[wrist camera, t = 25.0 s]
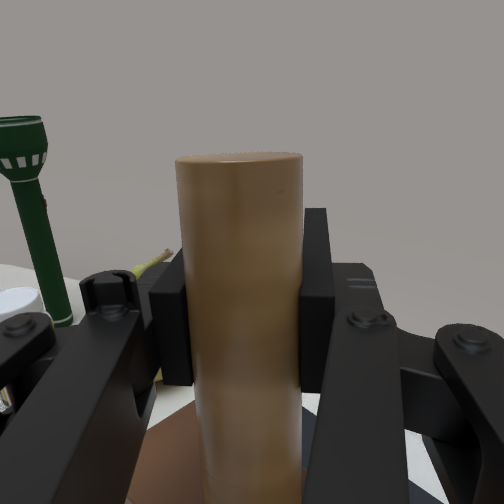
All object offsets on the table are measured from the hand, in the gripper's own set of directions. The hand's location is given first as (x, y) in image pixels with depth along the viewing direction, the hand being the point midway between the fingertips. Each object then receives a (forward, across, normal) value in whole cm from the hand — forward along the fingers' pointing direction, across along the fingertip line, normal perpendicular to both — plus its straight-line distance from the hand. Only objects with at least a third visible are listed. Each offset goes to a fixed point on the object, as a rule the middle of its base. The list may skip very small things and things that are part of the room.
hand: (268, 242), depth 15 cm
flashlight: (+18, -23, -16) cm, 34 cm away
